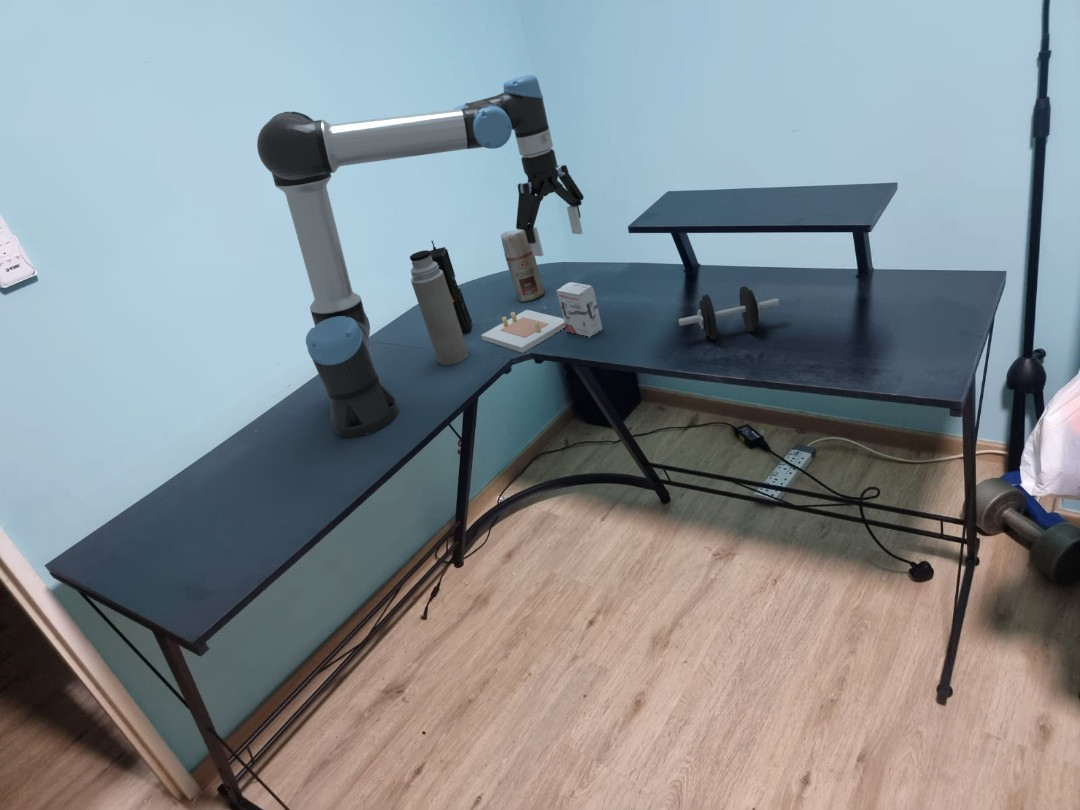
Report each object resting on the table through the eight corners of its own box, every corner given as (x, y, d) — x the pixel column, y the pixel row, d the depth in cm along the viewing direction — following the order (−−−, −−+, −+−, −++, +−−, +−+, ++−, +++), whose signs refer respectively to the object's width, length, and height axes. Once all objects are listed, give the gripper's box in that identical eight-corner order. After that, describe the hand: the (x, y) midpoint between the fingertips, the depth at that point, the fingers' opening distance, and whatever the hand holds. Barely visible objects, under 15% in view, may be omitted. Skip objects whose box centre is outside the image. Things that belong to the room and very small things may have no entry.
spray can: (512, 304, 203) (494, 237, 193) (521, 292, 209) (504, 226, 200) (540, 301, 200) (523, 233, 190) (548, 289, 206) (532, 222, 196)
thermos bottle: (451, 348, 185) (418, 247, 172) (474, 351, 181) (442, 246, 167) (432, 363, 180) (396, 259, 166) (455, 366, 175) (420, 259, 162)
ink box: (565, 333, 178) (555, 289, 172) (579, 324, 180) (569, 281, 174) (590, 338, 171) (580, 293, 166) (603, 329, 174) (594, 285, 168)
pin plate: (523, 352, 173) (519, 338, 171) (482, 340, 186) (478, 326, 184) (569, 325, 181) (566, 310, 179) (528, 314, 193) (524, 301, 191)
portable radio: (470, 334, 191) (443, 246, 178) (448, 339, 191) (420, 251, 179) (473, 322, 197) (447, 236, 185) (452, 327, 198) (425, 241, 186)
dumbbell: (773, 314, 160) (770, 273, 156) (786, 332, 152) (784, 289, 147) (678, 334, 163) (672, 294, 158) (686, 353, 154) (680, 311, 149)
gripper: (507, 170, 147) (532, 266, 157) (586, 134, 160) (604, 225, 170) (484, 171, 152) (510, 263, 162) (563, 136, 165) (581, 224, 176)
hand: (558, 244), depth 166 cm, fingers open, 13 cm apart
